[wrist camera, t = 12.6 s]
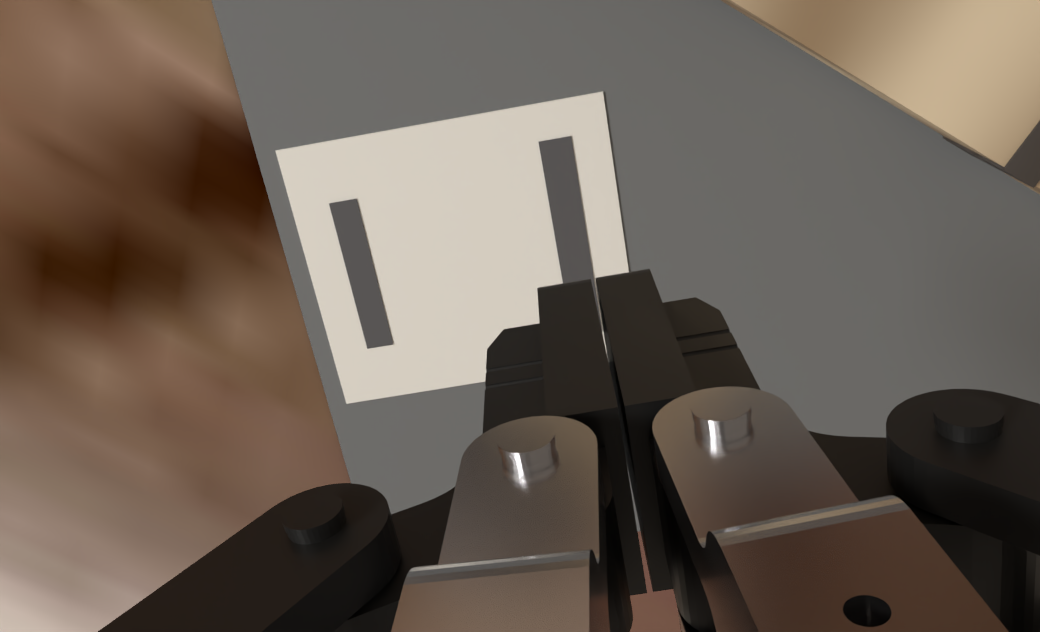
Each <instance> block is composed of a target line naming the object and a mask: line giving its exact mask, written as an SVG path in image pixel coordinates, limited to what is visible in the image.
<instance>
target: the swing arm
mask: <svg viewBox="0 0 1040 632" xmlns="http://www.w3.org/2000/svg"><path fill="white" fill-rule="evenodd" d="M721 1H723V2H724V3H726V4H727V5H729V6H731V7H732V8H734V9H736V10H737V11H739V12H741V13H742V14H744V15H746V16H747V17H749V18H750V19H752V20H754V21H755V22H757V23H759V24H760V25H762V26H764V27H765V28H767V29H769V30H770V31H772V32H773V33H775V34H777V35H778V36H780V37H782V38H783V39H785V40H787V41H788V42H790V43H792V44H793V45H795V46H796V47H798V48H800V49H801V50H803V51H805V52H806V53H808V54H810V55H811V56H813V57H815V58H816V59H818V60H819V61H821V62H823V63H824V64H826V65H828V66H829V67H831V68H833V69H834V70H836V71H838V72H839V73H841V74H842V75H844V76H846V77H847V78H849V79H851V80H852V81H854V82H856V83H857V84H859V85H861V86H862V87H864V88H865V89H867V90H869V91H870V92H872V93H874V94H875V95H877V96H879V97H880V98H882V99H884V100H885V101H887V102H888V103H890V104H892V105H893V106H895V107H897V108H898V109H900V110H902V111H903V112H905V113H907V114H908V115H910V116H911V117H913V118H915V119H916V120H918V121H920V122H921V123H923V124H925V125H926V126H928V127H930V128H931V129H933V130H934V131H936V132H938V133H939V134H941V135H943V139H945V140H946V141H948V142H950V143H951V144H953V145H955V146H956V147H958V148H960V149H961V150H963V151H964V152H966V153H968V154H970V155H971V156H973V157H975V158H977V159H979V160H981V161H983V162H985V163H987V164H989V165H991V166H992V167H994V168H996V169H998V170H1000V171H1002V172H1003V173H1005V174H1007V175H1008V176H1010V177H1012V178H1013V179H1015V180H1017V181H1018V182H1020V183H1022V184H1023V185H1025V186H1026V187H1028V188H1030V189H1031V190H1033V191H1035V192H1036V193H1038V194H1040V0H721Z"/></svg>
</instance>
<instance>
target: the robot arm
mask: <svg viewBox="0 0 1040 632" xmlns="http://www.w3.org/2000/svg"><path fill="white" fill-rule="evenodd" d="M595 279H596V287H597V294H598V300H599V307H600V313H601V319H602V326H603V332H604V339H605V344H604V339H603V334H602V330H601V325H600V320H599V315H598V311H597V306H596V301H595V296H594V292H593V287H592V282H591V279H586V280H580V281H574V282H568V283H562V284H556V285H550V286H544V287H539V288H537V293H538V308H539V323H538V324H532V325H526V326H520V327H514V328H508V329H503V331H502V332H501V333H500V334H499V335H498V337H497V338H496V339H495V340H494V341H493V343H492V344H491V345H490V346H489V347H488V349H487V360H486V372H487V373H486V378H485V387H486V389H485V397H484V416H483V434H482V435H480V436H479V437H478V438H476V439H475V440H474V441H473V442H472V443H471V444H470V445H469V446H468V447H467V449H466V450H465V452H464V453H463V456H462V459H461V463H460V467H459V472H458V476H457V481H456V485H455V487H454V488H452V489H451V490H449V491H448V492H446V493H444V494H442V495H440V496H438V497H436V498H434V499H432V500H429V501H427V502H424V503H422V504H419V505H416V506H413V507H410V508H408V509H405V510H402V511H399V512H397V513H394V514H391V512H390V509H389V505H388V502H387V500H386V498H385V497H384V496H383V494H381V493H380V492H379V491H377V490H376V489H374V488H371V487H369V486H365V485H361V484H352V483H341V484H332V485H325V486H321V487H316V488H313V489H310V490H307V491H304V492H301V493H299V494H296V495H294V496H292V497H290V498H288V499H286V500H284V501H282V502H280V503H279V504H277V505H276V506H274V507H273V508H271V509H270V510H268V511H267V512H265V513H264V514H263V515H261V516H260V517H258V518H257V519H256V520H254V521H253V522H251V523H250V524H249V525H247V526H246V527H244V528H243V529H242V530H240V531H239V532H237V533H236V534H234V535H233V536H232V537H230V538H229V539H227V540H226V541H225V542H223V543H222V544H220V545H219V546H218V547H216V548H215V549H213V550H212V551H211V552H209V553H208V554H206V555H205V556H204V557H202V558H201V559H199V560H198V561H197V562H195V563H194V564H192V565H191V566H190V567H188V568H187V569H185V570H184V571H183V572H181V573H180V574H178V575H177V576H175V577H174V578H173V579H171V580H170V581H168V582H167V583H166V584H164V585H163V586H161V587H160V588H159V589H157V590H156V591H154V592H153V593H152V594H150V595H149V596H147V597H146V598H145V599H143V600H142V601H140V602H139V603H138V604H136V605H135V606H133V607H132V608H131V609H129V610H128V611H126V612H125V613H124V614H122V615H121V616H119V617H118V618H116V619H115V620H114V621H112V622H111V623H109V624H108V625H107V626H105V627H104V628H102V629H101V630H100V631H98V632H629V631H630V629H631V626H632V621H633V613H632V606H631V600H630V595H636V594H643V593H647V590H646V584H645V577H644V571H643V565H642V558H641V552H640V545H639V539H638V533H637V526H636V520H635V513H634V507H633V500H632V494H631V488H630V482H631V487H632V492H633V497H634V502H635V507H636V512H637V516H638V521H639V526H640V531H641V536H642V541H643V546H644V550H645V555H646V560H647V565H648V570H649V575H650V580H651V584H652V589H653V592H654V591H661V590H668V589H674V594H675V598H676V602H677V608H678V615H679V622H680V629H681V632H1040V404H1039V403H1035V402H1032V401H1028V400H1024V399H1021V398H1017V397H1013V396H1010V395H1006V394H1002V393H997V392H993V391H986V390H977V389H946V390H937V391H932V392H927V393H923V394H920V395H916V396H914V397H912V398H909V399H907V400H905V401H903V402H902V403H900V404H898V405H897V406H896V407H895V408H894V409H893V410H892V411H891V412H890V414H889V415H888V417H887V421H886V438H884V437H848V436H834V435H827V434H820V433H816V432H812V431H808V430H807V429H806V427H805V426H804V425H803V423H802V422H801V420H800V419H799V418H798V416H797V415H796V414H795V412H794V411H793V409H792V408H791V407H790V406H789V405H788V404H787V403H786V402H785V401H784V400H782V399H781V398H779V397H778V396H775V395H773V394H771V393H768V392H765V391H762V390H760V388H759V386H758V384H757V382H756V380H755V378H754V376H753V374H752V372H751V370H750V368H749V366H748V364H747V362H746V360H745V358H744V356H743V354H742V352H741V350H740V348H738V346H737V343H736V341H735V339H734V337H733V335H732V333H730V329H729V327H728V325H727V323H726V321H725V319H724V317H723V315H722V313H721V311H720V310H718V309H717V308H715V307H713V306H711V305H709V304H707V303H706V302H704V301H702V300H700V299H698V298H696V297H694V298H688V299H682V300H676V301H670V302H664V303H663V302H662V300H661V297H660V294H659V292H658V289H657V287H656V284H655V281H654V279H653V276H652V273H651V271H650V269H644V270H639V271H633V272H627V273H621V274H615V275H609V276H603V277H597V278H595ZM605 345H606V348H605ZM606 351H607V353H606ZM628 473H629V475H628ZM629 478H630V481H629Z"/></svg>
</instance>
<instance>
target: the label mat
mask: <svg viewBox="0 0 1040 632" xmlns="http://www.w3.org/2000/svg"><path fill="white" fill-rule="evenodd" d="M212 3H213V7H214V10H215V14H216V17H217V21H218V24H219V28H220V31H221V34H222V38H223V41H224V45H225V48H226V52H227V55H228V59H229V62H230V66H231V69H232V73H233V76H234V79H235V83H236V86H237V90H238V93H239V97H240V100H241V104H242V107H243V111H244V114H245V117H246V121H247V124H248V128H249V131H250V135H251V138H252V142H253V145H254V149H255V152H256V156H257V159H258V162H259V166H260V169H261V173H262V176H263V180H264V183H265V187H266V190H267V194H268V197H269V201H270V204H271V207H272V211H273V214H274V218H275V221H276V225H277V228H278V232H279V235H280V239H281V242H282V246H283V249H284V252H285V256H286V259H287V263H288V266H289V270H290V273H291V277H292V280H293V284H294V287H295V290H296V294H297V297H298V301H299V304H300V308H301V311H302V315H303V318H304V322H305V325H306V329H307V332H308V335H309V339H310V342H311V346H312V349H313V353H314V356H315V360H316V363H317V367H318V370H319V374H320V377H321V380H322V384H323V387H324V391H325V394H326V398H327V401H328V405H329V408H330V412H331V415H332V419H333V422H334V425H335V429H336V432H337V436H338V439H339V443H340V446H341V450H342V453H343V457H344V460H345V463H346V467H347V470H348V474H349V477H350V481H351V483H352V484H361V485H365V486H369V487H371V488H374V489H376V490H377V491H379V492H380V493H381V494H383V496H384V497H385V498H386V500H387V502H388V505H389V509H390V512H391V514H394V513H397V512H399V511H402V510H405V509H408V508H410V507H413V506H416V505H419V504H422V503H424V502H427V501H429V500H432V499H434V498H436V497H438V496H440V495H442V494H444V493H446V492H448V491H449V490H451V489H452V488H454V487H455V485H456V481H457V476H458V472H459V467H460V463H461V459H462V456H463V453H464V452H465V450H466V449H467V447H468V446H469V445H470V444H471V443H472V442H473V441H474V440H475V439H476V438H478V437H479V436H480V435H482V434H483V416H484V397H485V389H486V387H485V378H486V373H487V372H486V360H487V349H488V347H489V346H490V345H491V344H492V343H493V341H494V340H495V339H496V338H497V337H498V335H499V334H500V333H501V332H502V331H503V329H508V328H514V327H520V326H526V325H532V324H538V323H539V308H538V293H537V288H539V287H544V286H550V285H556V284H562V283H568V282H574V281H580V280H586V279H591V282H592V287H593V292H594V296H595V301H596V306H597V311H598V315H599V320H600V325H601V330H602V334H603V339H604V332H603V326H602V319H601V313H600V307H599V300H598V294H597V287H596V279H595V278H597V277H603V276H609V275H615V274H621V273H627V272H633V271H639V270H644V269H650V271H651V273H652V276H653V279H654V281H655V284H656V287H657V289H658V292H659V294H660V297H661V300H662V302H663V303H664V302H670V301H676V300H682V299H688V298H694V297H696V298H698V299H700V300H702V301H704V302H706V303H707V304H709V305H711V306H713V307H715V308H717V309H718V310H720V311H721V313H722V315H723V317H724V319H725V321H726V323H727V325H728V327H729V329H730V333H732V335H733V337H734V339H735V341H736V343H737V346H738V348H740V350H741V352H742V354H743V356H744V358H745V360H746V362H747V364H748V366H749V368H750V370H751V372H752V374H753V376H754V378H755V380H756V382H757V384H758V386H759V388H760V390H762V391H765V392H768V393H771V394H773V395H775V396H778V397H779V398H781V399H782V400H784V401H785V402H786V403H787V404H788V405H789V406H790V407H791V408H792V409H793V411H794V412H795V414H796V415H797V416H798V418H799V419H800V420H801V422H802V423H803V425H804V426H805V427H806V429H807V430H808V431H812V432H816V433H820V434H827V435H834V436H848V437H884V438H886V421H887V417H888V415H889V414H890V412H891V411H892V410H893V409H894V408H895V407H896V406H897V405H898V404H900V403H902V402H903V401H905V400H907V399H909V398H912V397H914V396H916V395H920V394H923V393H927V392H932V391H937V390H946V389H977V390H986V391H993V392H997V393H1002V394H1006V395H1010V396H1013V397H1017V398H1021V399H1024V400H1028V401H1032V402H1035V403H1039V404H1040V194H1038V193H1036V192H1035V191H1033V190H1031V189H1030V188H1028V187H1026V186H1025V185H1023V184H1022V183H1020V182H1018V181H1017V180H1015V179H1013V178H1012V177H1010V176H1008V175H1007V174H1005V173H1003V172H1002V171H1000V170H998V169H996V168H994V167H992V166H991V165H989V164H987V163H985V162H983V161H981V160H979V159H977V158H975V157H973V156H971V155H970V154H968V153H966V152H964V151H963V150H961V149H960V148H958V147H956V146H955V145H953V144H951V143H950V142H948V141H946V140H945V139H943V135H941V134H939V133H938V132H936V131H934V130H933V129H931V128H930V127H928V126H926V125H925V124H923V123H921V122H920V121H918V120H916V119H915V118H913V117H911V116H910V115H908V114H907V113H905V112H903V111H902V110H900V109H898V108H897V107H895V106H893V105H892V104H890V103H888V102H887V101H885V100H884V99H882V98H880V97H879V96H877V95H875V94H874V93H872V92H870V91H869V90H867V89H865V88H864V87H862V86H861V85H859V84H857V83H856V82H854V81H852V80H851V79H849V78H847V77H846V76H844V75H842V74H841V73H839V72H838V71H836V70H834V69H833V68H831V67H829V66H828V65H826V64H824V63H823V62H821V61H819V60H818V59H816V58H815V57H813V56H811V55H810V54H808V53H806V52H805V51H803V50H801V49H800V48H798V47H796V46H795V45H793V44H792V43H790V42H788V41H787V40H785V39H783V38H782V37H780V36H778V35H777V34H775V33H773V32H772V31H770V30H769V29H767V28H765V27H764V26H762V25H760V24H759V23H757V22H755V21H754V20H752V19H750V18H749V17H747V16H746V15H744V14H742V13H741V12H739V11H737V10H736V9H734V8H732V7H731V6H729V5H727V4H726V3H724V2H723V1H721V0H212ZM604 344H605V339H604ZM605 348H606V345H605ZM606 353H607V351H606ZM628 475H629V473H628ZM629 481H630V478H629ZM630 488H631V494H632V500H633V507H634V513H635V520H636V526H637V531H640V526H639V521H638V516H637V512H636V507H635V502H634V497H633V492H632V487H631V482H630Z"/></svg>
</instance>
